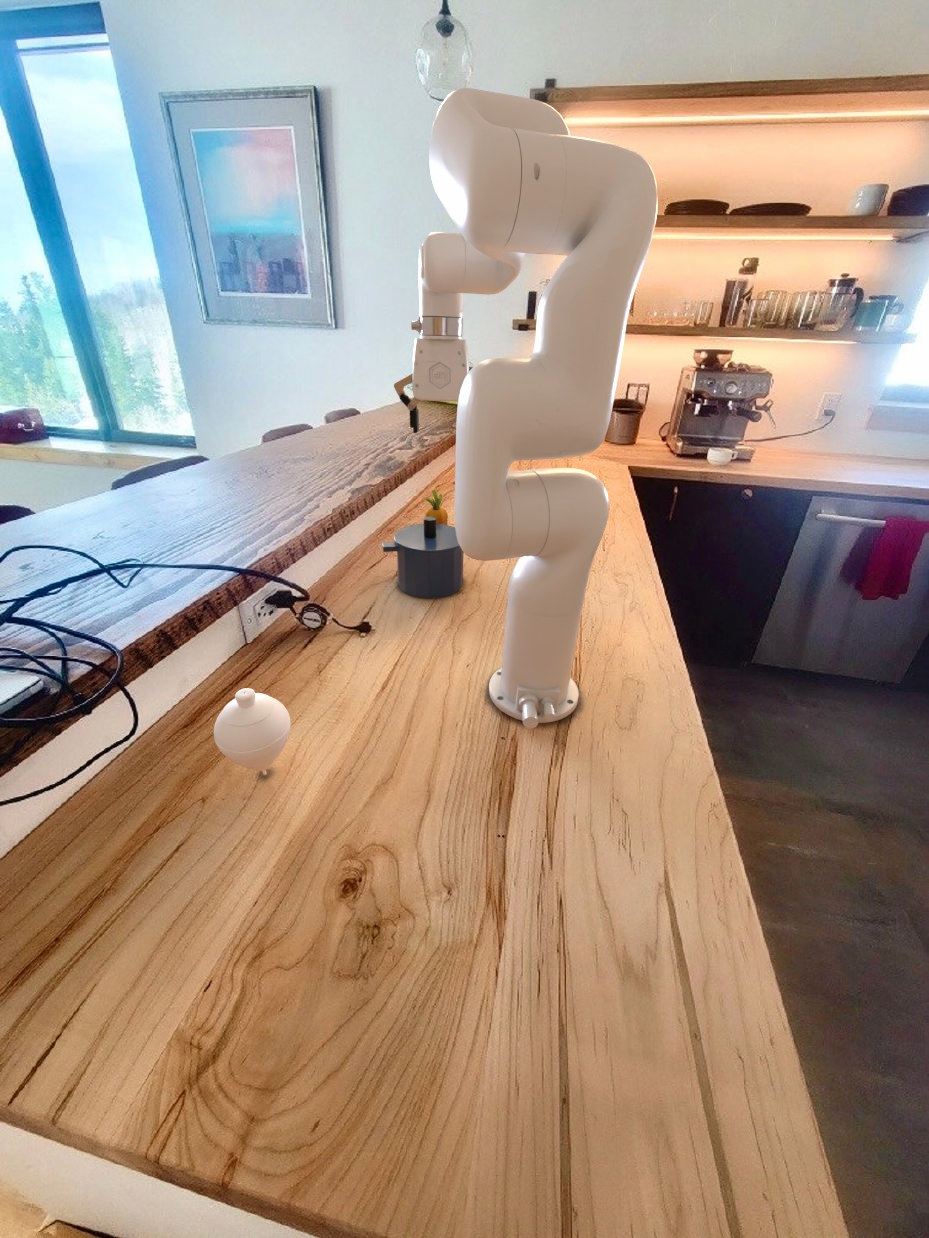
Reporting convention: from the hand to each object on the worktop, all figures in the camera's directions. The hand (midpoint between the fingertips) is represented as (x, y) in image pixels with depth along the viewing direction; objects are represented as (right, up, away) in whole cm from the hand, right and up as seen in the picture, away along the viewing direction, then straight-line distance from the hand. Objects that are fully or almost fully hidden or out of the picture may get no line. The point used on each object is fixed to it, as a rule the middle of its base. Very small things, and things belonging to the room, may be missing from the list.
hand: (441, 432), depth 96 cm
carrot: (-2, -23, +15) cm, 27 cm away
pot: (-2, -29, +4) cm, 29 cm away
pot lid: (-2, -20, -1) cm, 20 cm away
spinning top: (-18, -54, -38) cm, 69 cm away
